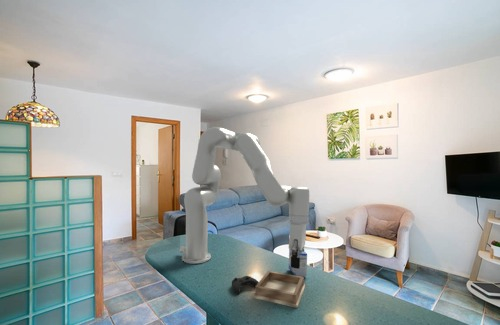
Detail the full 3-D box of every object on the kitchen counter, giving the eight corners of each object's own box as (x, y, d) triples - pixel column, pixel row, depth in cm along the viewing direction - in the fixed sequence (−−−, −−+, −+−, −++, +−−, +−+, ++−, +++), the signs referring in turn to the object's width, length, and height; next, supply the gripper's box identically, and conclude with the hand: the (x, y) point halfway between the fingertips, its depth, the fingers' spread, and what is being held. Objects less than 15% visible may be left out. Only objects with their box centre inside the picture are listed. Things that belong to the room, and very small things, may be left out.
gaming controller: (236, 294, 77) (230, 275, 81) (231, 300, 80) (226, 282, 84) (262, 287, 82) (255, 269, 86) (256, 293, 85) (250, 276, 89)
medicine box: (288, 268, 98) (288, 246, 98) (298, 267, 98) (299, 246, 98) (295, 277, 90) (296, 253, 90) (306, 276, 91) (307, 253, 91)
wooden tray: (253, 297, 76) (253, 287, 76) (267, 278, 89) (267, 269, 89) (297, 308, 71) (297, 296, 71) (305, 286, 84) (305, 276, 84)
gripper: (293, 213, 104) (292, 254, 103) (283, 222, 88) (282, 270, 87) (311, 215, 101) (310, 257, 101) (304, 224, 85) (303, 274, 85)
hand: (297, 263), depth 94 cm, fingers closed on medicine box, 9 cm apart
